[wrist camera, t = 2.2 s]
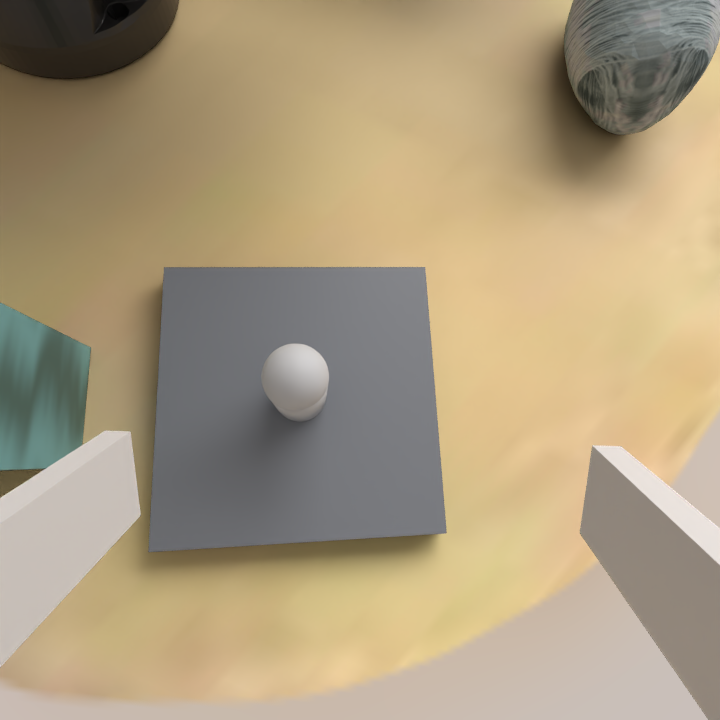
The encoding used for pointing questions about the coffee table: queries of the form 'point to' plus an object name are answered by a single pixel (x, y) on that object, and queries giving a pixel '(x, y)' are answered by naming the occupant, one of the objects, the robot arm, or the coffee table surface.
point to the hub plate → (271, 455)
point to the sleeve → (39, 392)
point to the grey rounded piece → (637, 57)
